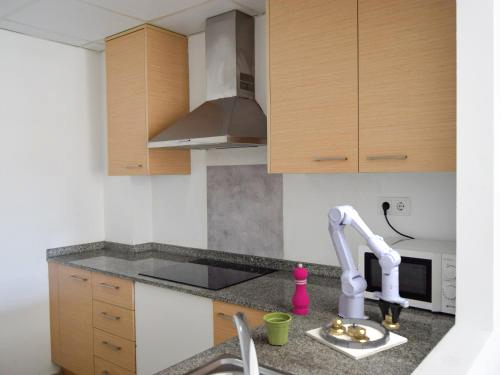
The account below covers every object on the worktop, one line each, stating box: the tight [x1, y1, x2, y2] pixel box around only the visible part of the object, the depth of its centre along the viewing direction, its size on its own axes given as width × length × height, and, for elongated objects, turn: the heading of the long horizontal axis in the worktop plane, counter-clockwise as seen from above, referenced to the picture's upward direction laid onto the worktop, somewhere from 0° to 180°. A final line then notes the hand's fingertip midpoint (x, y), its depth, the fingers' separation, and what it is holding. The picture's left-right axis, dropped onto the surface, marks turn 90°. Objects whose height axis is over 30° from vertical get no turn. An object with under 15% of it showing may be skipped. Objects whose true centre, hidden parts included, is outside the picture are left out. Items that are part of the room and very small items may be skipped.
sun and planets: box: [329, 317, 370, 342], centre depth 142 cm, size 17×9×4 cm, turn 32°
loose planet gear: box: [381, 312, 400, 331], centre depth 153 cm, size 6×6×4 cm
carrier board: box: [305, 324, 408, 361], centre depth 143 cm, size 24×24×1 cm
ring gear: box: [321, 317, 390, 349], centre depth 143 cm, size 22×22×2 cm
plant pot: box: [263, 312, 292, 346], centre depth 141 cm, size 9×9×9 cm
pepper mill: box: [291, 263, 311, 316], centre depth 170 cm, size 7×7×20 cm
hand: (390, 321), depth 153 cm, fingers closed on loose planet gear, 4 cm apart
